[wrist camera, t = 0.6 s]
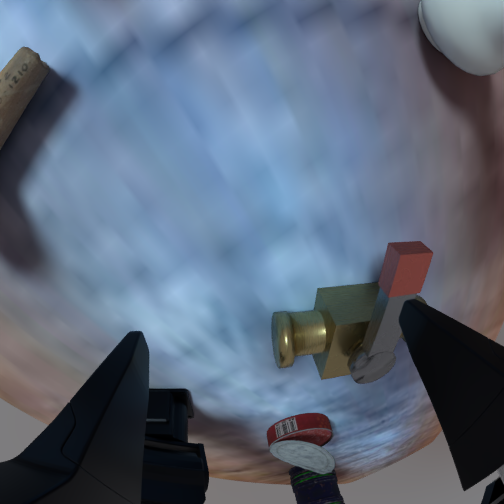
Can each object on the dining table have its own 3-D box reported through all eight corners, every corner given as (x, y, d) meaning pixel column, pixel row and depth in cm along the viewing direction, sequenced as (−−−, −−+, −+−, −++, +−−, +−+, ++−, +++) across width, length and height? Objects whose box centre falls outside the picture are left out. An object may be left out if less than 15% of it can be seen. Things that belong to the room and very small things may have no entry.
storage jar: (296, 462, 49) (311, 524, 36) (339, 455, 51) (357, 513, 38) (283, 476, 53) (294, 531, 40) (322, 471, 55) (336, 522, 42)
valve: (396, 328, 31) (418, 362, 26) (269, 346, 29) (280, 391, 25) (414, 277, 28) (444, 311, 23) (273, 291, 26) (287, 337, 21)
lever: (380, 366, 25) (387, 378, 23) (342, 374, 24) (348, 387, 23) (426, 240, 18) (439, 252, 17) (380, 243, 18) (392, 255, 16)
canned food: (295, 418, 47) (287, 469, 41) (257, 408, 41) (246, 468, 36) (353, 415, 40) (346, 474, 34) (320, 407, 35) (311, 478, 29)
